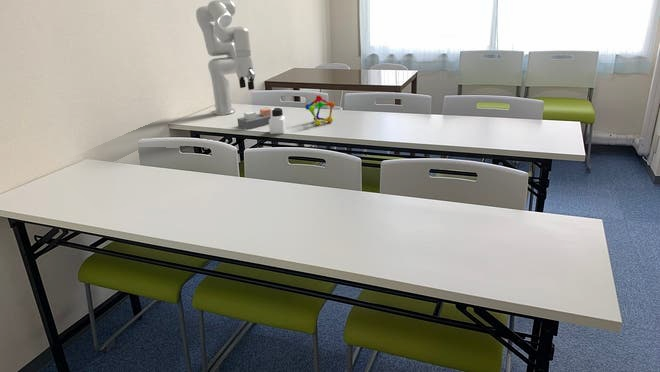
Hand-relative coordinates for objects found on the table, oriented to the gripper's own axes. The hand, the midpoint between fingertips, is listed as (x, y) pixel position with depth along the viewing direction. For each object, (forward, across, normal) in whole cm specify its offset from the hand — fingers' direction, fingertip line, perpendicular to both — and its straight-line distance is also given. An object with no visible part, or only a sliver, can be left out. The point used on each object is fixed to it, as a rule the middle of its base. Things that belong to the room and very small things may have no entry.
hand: (247, 88), depth 253 cm
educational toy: (+20, +23, +28) cm, 41 cm away
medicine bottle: (+20, +21, +3) cm, 29 cm away
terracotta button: (+17, 0, +10) cm, 20 cm away
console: (+20, 0, +5) cm, 21 cm away
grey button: (+17, 0, 0) cm, 17 cm away
